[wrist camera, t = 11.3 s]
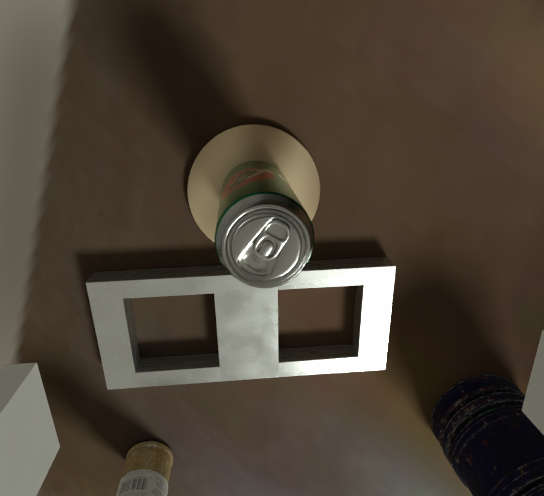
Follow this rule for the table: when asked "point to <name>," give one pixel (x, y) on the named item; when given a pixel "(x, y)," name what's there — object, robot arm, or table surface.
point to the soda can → (262, 227)
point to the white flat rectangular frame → (239, 323)
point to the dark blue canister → (490, 437)
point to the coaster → (241, 148)
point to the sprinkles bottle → (146, 470)
